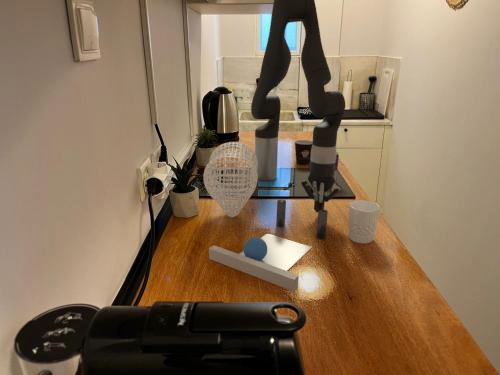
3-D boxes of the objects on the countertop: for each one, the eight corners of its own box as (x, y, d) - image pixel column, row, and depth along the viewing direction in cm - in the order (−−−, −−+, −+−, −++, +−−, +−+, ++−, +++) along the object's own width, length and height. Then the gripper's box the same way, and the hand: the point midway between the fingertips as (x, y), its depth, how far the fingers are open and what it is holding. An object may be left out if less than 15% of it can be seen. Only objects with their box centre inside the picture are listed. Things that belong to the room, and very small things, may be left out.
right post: (314, 237, 107) (316, 211, 104) (318, 234, 109) (320, 208, 106) (323, 240, 105) (325, 214, 103) (326, 236, 107) (329, 211, 105)
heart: (213, 199, 133) (211, 137, 125) (256, 200, 133) (258, 138, 125) (202, 236, 107) (199, 161, 99) (256, 237, 107) (258, 162, 99)
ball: (235, 253, 93) (245, 231, 94) (246, 258, 98) (256, 237, 99) (254, 262, 90) (265, 239, 91) (265, 267, 95) (275, 245, 96)
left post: (274, 226, 114) (275, 201, 111) (278, 223, 116) (279, 198, 113) (282, 228, 112) (283, 203, 109) (286, 225, 114) (287, 200, 111)
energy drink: (336, 184, 149) (339, 155, 145) (322, 183, 150) (324, 154, 146) (336, 180, 154) (338, 151, 149) (322, 179, 155) (325, 150, 150)
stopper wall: (209, 258, 96) (208, 248, 95) (214, 255, 97) (213, 245, 96) (293, 291, 83) (294, 279, 82) (297, 286, 85) (298, 275, 84)
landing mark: (239, 254, 98) (239, 253, 98) (267, 234, 109) (267, 233, 109) (286, 271, 90) (286, 271, 90) (311, 247, 101) (311, 247, 101)
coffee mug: (291, 164, 174) (292, 143, 170) (296, 159, 181) (297, 139, 178) (316, 167, 170) (318, 145, 166) (320, 162, 177) (322, 141, 174)
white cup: (375, 234, 109) (379, 202, 106) (374, 247, 102) (379, 213, 99) (347, 230, 112) (351, 198, 108) (344, 242, 105) (348, 209, 101)
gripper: (297, 158, 115) (294, 210, 121) (339, 166, 108) (333, 221, 114) (308, 153, 121) (305, 203, 127) (348, 160, 114) (343, 212, 120)
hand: (318, 211), depth 120 cm, fingers closed
